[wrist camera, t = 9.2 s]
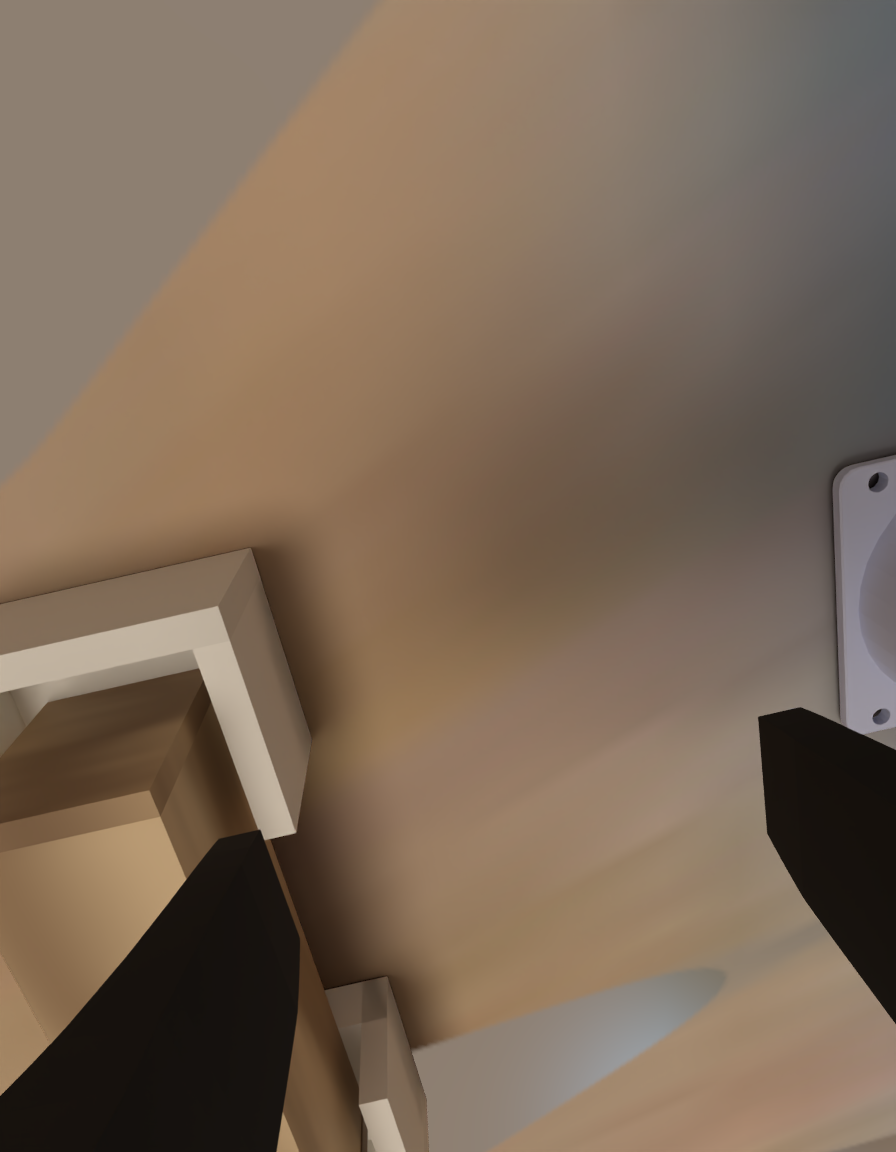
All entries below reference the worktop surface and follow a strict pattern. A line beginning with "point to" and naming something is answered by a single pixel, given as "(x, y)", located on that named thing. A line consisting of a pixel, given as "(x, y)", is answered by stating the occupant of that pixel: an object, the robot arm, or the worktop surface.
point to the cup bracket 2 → (381, 1066)
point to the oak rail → (140, 868)
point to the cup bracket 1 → (170, 664)
